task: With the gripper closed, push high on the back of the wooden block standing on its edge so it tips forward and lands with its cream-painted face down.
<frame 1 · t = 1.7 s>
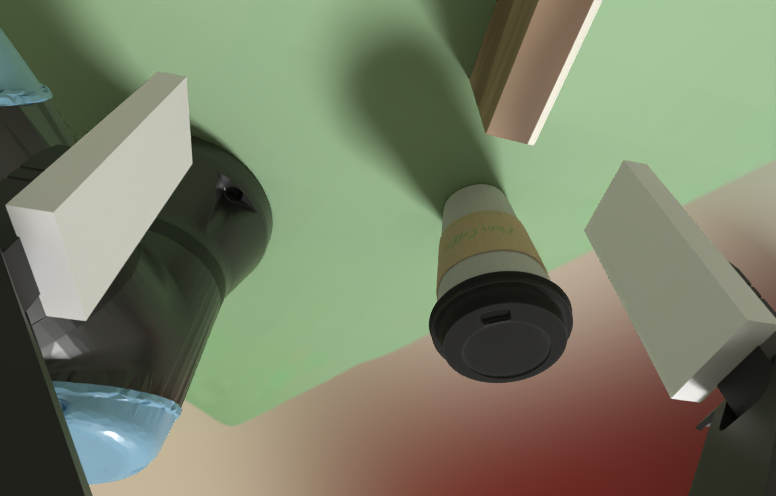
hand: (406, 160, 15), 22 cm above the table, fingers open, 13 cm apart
wooden block: (515, 12, 32), on the table
coffee cup: (476, 211, 42), on the table
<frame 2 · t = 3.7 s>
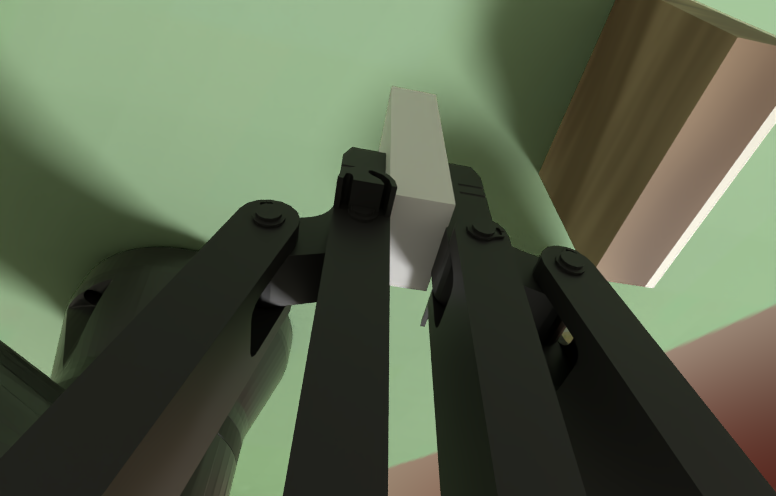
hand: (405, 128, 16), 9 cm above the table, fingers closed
wooden block: (602, 94, 25), on the table
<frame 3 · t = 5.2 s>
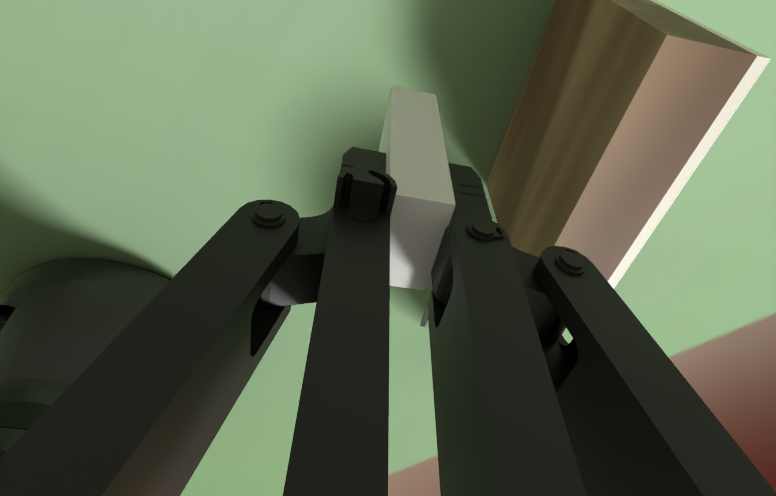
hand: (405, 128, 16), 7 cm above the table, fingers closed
wooden block: (550, 99, 22), on the table
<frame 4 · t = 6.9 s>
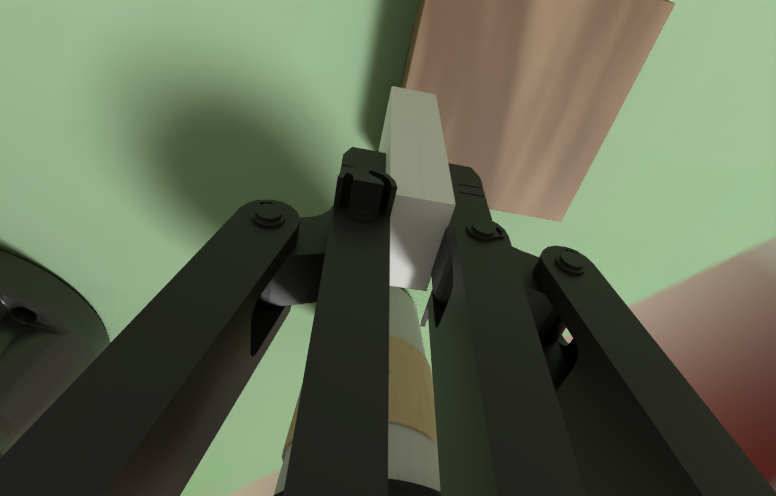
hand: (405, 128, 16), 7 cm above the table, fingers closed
wooden block: (405, 75, 21), point 1 cm above the table, tilted 90°
coffee cup: (373, 311, 32), on the table
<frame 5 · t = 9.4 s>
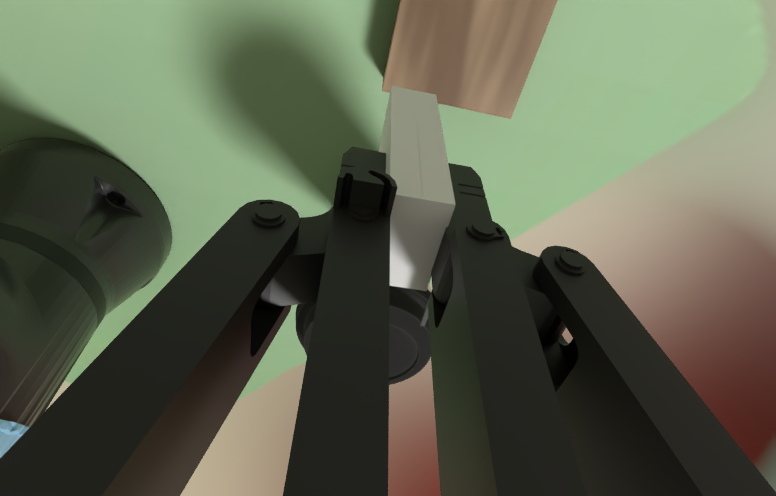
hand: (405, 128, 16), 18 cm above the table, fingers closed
wooden block: (398, 4, 30), point 1 cm above the table, tilted 90°
coffee cup: (377, 208, 41), on the table
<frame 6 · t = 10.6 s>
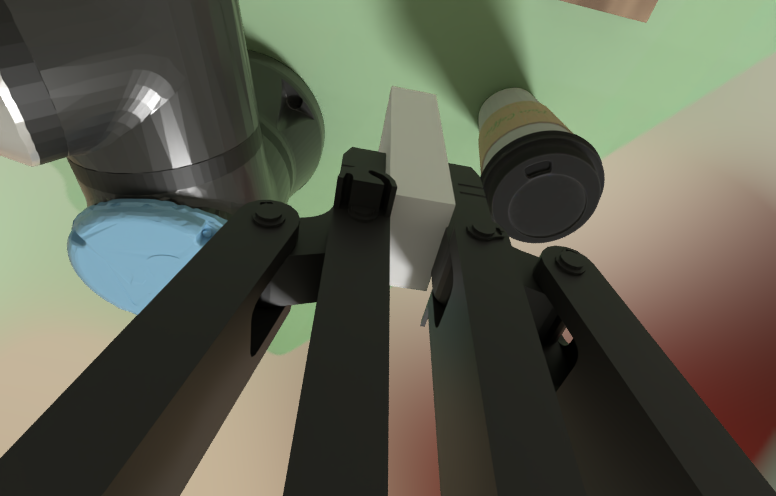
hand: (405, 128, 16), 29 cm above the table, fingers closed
coffee cup: (507, 116, 47), on the table
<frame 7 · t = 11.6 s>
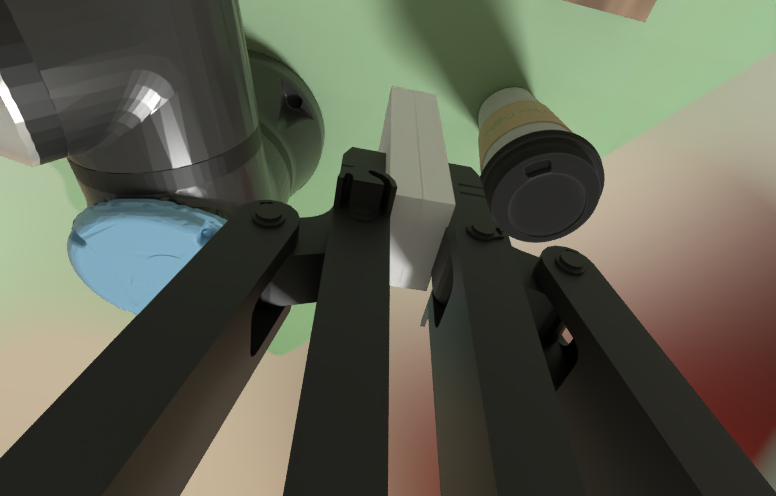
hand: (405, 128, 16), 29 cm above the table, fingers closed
coffee cup: (507, 116, 47), on the table
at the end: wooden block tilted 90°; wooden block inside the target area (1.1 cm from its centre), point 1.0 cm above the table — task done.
